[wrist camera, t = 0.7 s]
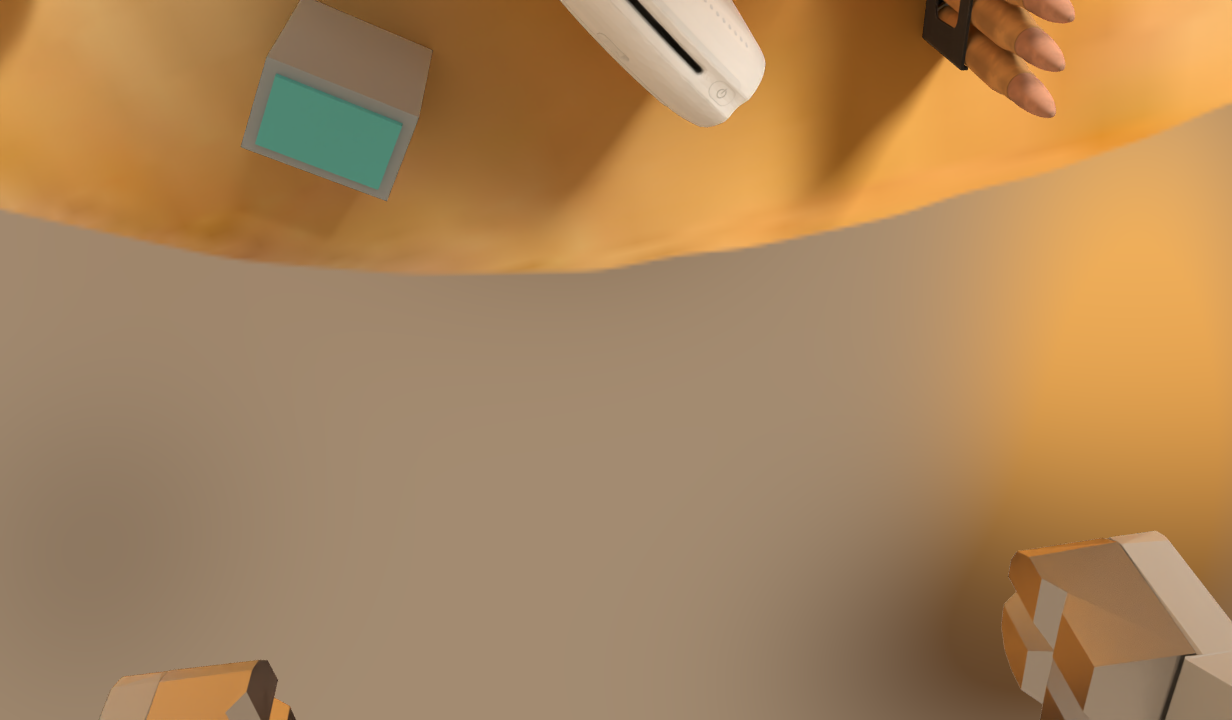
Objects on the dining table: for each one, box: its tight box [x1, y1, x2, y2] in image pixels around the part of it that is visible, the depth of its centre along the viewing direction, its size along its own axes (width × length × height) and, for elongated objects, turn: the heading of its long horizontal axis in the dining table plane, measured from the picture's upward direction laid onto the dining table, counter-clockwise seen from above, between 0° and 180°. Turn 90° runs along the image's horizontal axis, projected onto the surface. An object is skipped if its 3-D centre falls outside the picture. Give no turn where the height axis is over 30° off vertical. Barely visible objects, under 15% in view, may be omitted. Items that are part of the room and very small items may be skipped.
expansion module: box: [241, 0, 433, 201], centre depth 44 cm, size 4×6×8 cm, turn 64°
